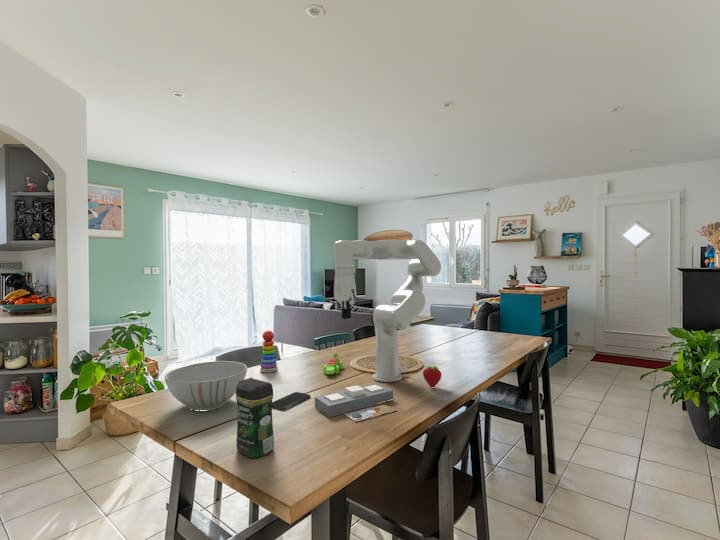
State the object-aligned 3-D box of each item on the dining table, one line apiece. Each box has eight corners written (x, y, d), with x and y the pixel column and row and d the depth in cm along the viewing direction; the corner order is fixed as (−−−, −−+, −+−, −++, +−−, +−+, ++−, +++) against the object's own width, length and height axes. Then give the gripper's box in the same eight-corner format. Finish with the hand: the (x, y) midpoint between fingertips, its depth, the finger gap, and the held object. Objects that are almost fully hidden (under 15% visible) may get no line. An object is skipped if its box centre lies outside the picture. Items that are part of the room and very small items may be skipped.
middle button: (357, 394, 132) (356, 385, 132) (364, 398, 128) (364, 388, 128) (345, 397, 130) (344, 387, 130) (352, 402, 125) (352, 391, 125)
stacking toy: (281, 369, 173) (280, 330, 173) (268, 374, 166) (268, 332, 166) (269, 367, 177) (268, 328, 177) (256, 371, 170) (255, 331, 170)
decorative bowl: (210, 425, 113) (210, 386, 113) (146, 414, 122) (145, 378, 122) (262, 396, 138) (262, 364, 138) (206, 388, 147) (205, 358, 147)
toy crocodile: (335, 378, 160) (335, 364, 160) (321, 377, 161) (320, 363, 161) (344, 365, 179) (344, 353, 179) (331, 365, 180) (331, 353, 180)
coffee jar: (231, 451, 97) (230, 380, 96) (256, 439, 103) (255, 373, 103) (254, 462, 91) (253, 387, 91) (279, 449, 97) (278, 379, 97)
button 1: (337, 403, 128) (337, 393, 128) (344, 407, 124) (344, 397, 124) (324, 406, 125) (324, 396, 125) (331, 411, 121) (331, 400, 121)
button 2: (375, 394, 137) (375, 384, 137) (383, 397, 132) (383, 388, 132) (364, 396, 134) (363, 387, 134) (371, 400, 130) (371, 390, 130)
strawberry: (426, 383, 149) (426, 359, 149) (444, 387, 145) (444, 362, 145) (420, 387, 145) (419, 362, 144) (438, 391, 140) (437, 365, 140)
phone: (311, 395, 136) (283, 408, 123) (311, 398, 136) (283, 412, 123) (295, 391, 140) (266, 404, 127) (295, 394, 140) (266, 407, 127)
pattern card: (384, 404, 128) (384, 403, 128) (397, 411, 122) (397, 409, 122) (344, 415, 119) (344, 413, 119) (356, 422, 113) (356, 421, 113)
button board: (376, 392, 140) (376, 383, 140) (393, 400, 132) (393, 390, 132) (314, 407, 126) (314, 396, 126) (328, 417, 118) (328, 405, 118)
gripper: (327, 272, 149) (328, 317, 149) (346, 272, 137) (348, 321, 137) (342, 271, 153) (344, 315, 154) (363, 271, 141) (365, 319, 141)
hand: (346, 318), depth 145 cm, fingers closed
